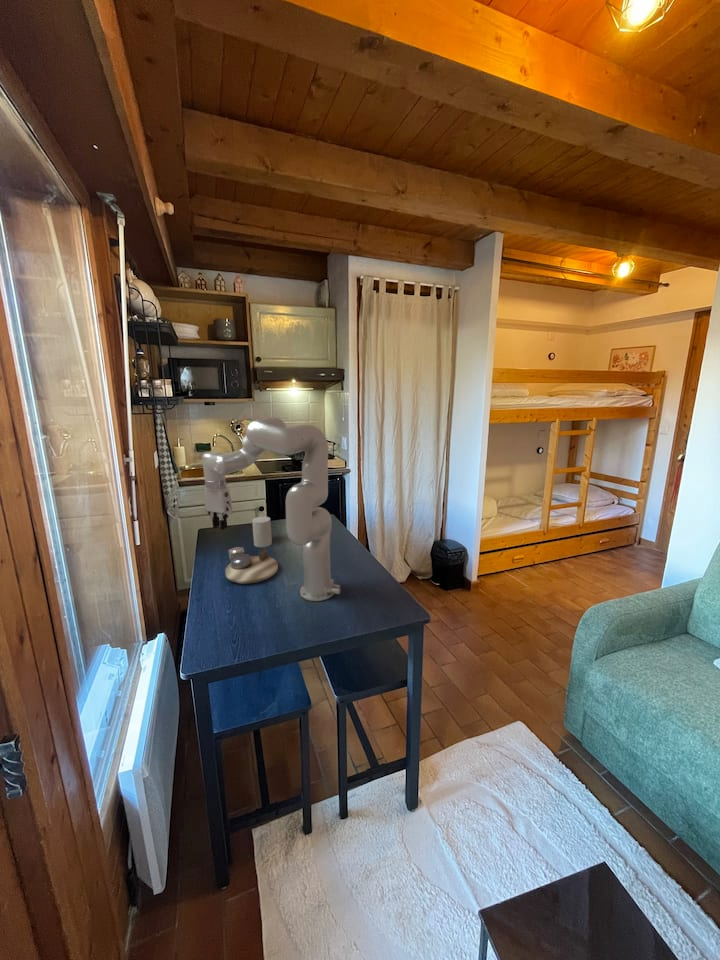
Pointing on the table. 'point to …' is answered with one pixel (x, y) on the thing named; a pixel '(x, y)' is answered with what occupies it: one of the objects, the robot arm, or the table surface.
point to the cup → (262, 531)
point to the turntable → (254, 570)
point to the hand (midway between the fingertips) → (220, 527)
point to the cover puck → (241, 561)
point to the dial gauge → (235, 551)
